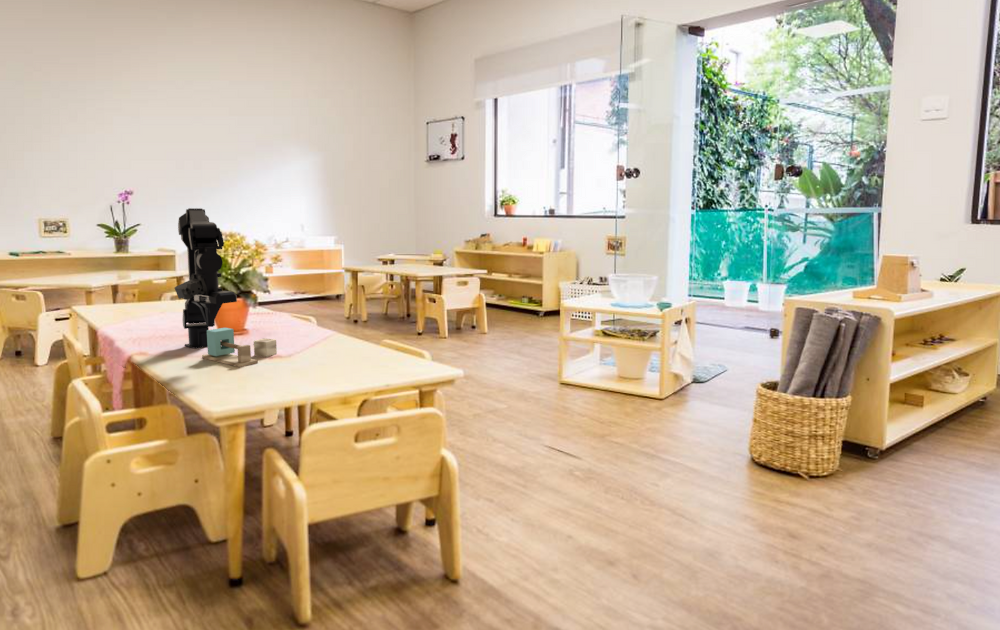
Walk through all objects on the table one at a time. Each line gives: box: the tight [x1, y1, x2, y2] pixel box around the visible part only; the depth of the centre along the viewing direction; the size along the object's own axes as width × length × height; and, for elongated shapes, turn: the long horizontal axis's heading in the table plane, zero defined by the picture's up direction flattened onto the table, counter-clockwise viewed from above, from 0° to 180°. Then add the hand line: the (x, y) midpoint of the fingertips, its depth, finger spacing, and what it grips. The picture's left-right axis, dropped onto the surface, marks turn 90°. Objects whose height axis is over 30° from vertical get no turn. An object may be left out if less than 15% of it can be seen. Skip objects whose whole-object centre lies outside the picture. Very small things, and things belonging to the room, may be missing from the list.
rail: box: [202, 340, 259, 368], centre depth 200 cm, size 18×6×5 cm, turn 54°
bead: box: [207, 327, 236, 356], centre depth 202 cm, size 4×6×7 cm, turn 144°
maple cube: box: [253, 338, 278, 358], centre depth 208 cm, size 4×4×4 cm
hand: (209, 325), depth 193 cm, fingers closed
